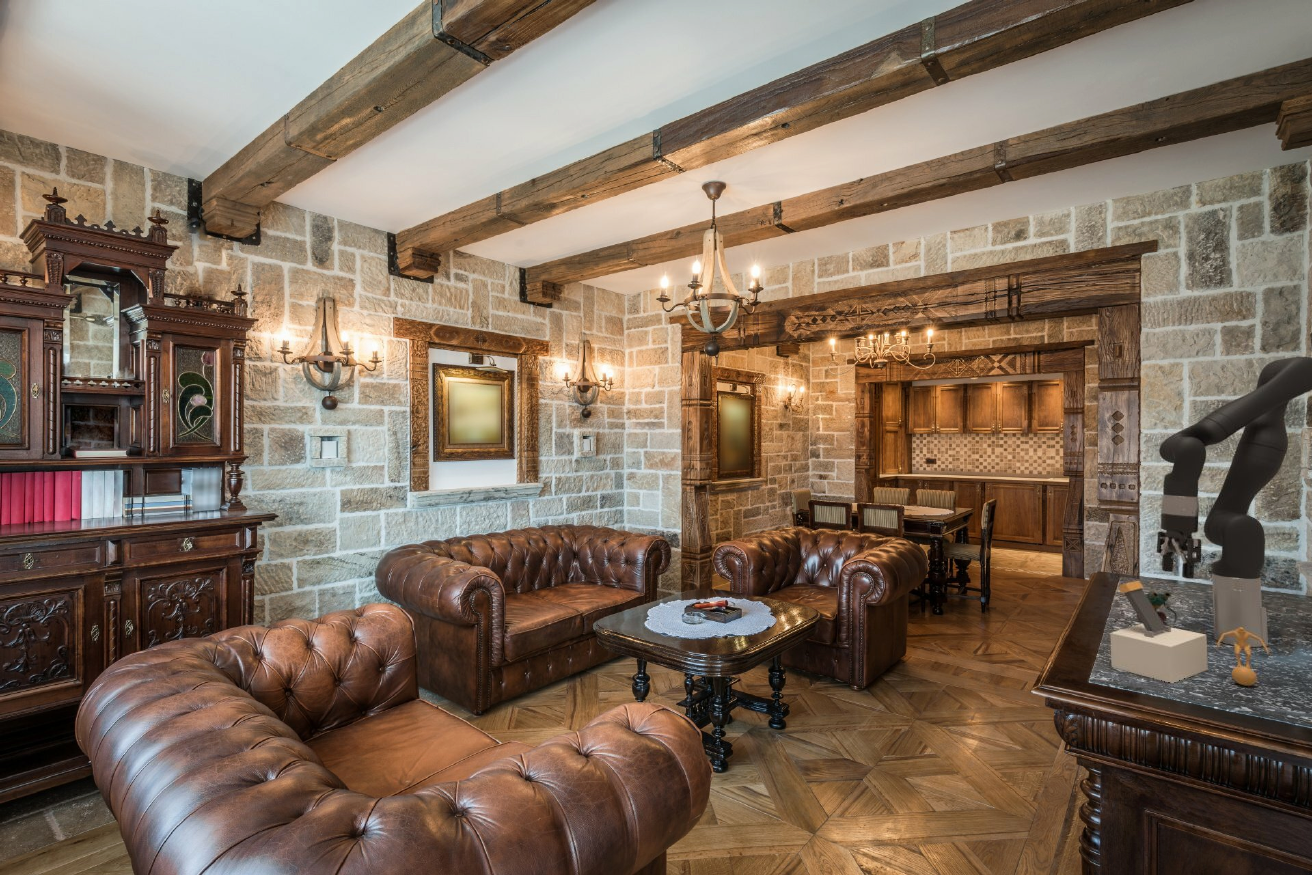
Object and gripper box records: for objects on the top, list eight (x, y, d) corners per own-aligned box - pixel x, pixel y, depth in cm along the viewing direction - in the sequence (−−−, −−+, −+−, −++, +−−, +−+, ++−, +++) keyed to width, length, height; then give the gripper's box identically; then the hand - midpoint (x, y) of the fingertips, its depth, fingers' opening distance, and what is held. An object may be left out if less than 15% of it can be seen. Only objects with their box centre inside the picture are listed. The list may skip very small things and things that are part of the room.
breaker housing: (1111, 666, 147) (1110, 627, 148) (1147, 654, 155) (1145, 617, 155) (1172, 683, 137) (1170, 641, 137) (1207, 669, 144) (1206, 629, 144)
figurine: (1219, 683, 136) (1217, 628, 136) (1217, 675, 141) (1215, 621, 141) (1272, 692, 131) (1270, 634, 131) (1268, 683, 136) (1266, 627, 136)
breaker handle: (1147, 635, 145) (1117, 586, 150) (1161, 631, 148) (1130, 583, 153) (1156, 633, 144) (1125, 583, 149) (1169, 629, 146) (1138, 580, 152)
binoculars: (1172, 631, 179) (1158, 597, 184) (1192, 621, 171) (1176, 586, 177) (1137, 631, 180) (1124, 597, 185) (1155, 621, 172) (1141, 586, 177)
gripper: (1214, 517, 157) (1212, 581, 157) (1178, 510, 171) (1176, 570, 171) (1180, 515, 158) (1178, 579, 158) (1147, 509, 172) (1145, 568, 172)
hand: (1177, 574), depth 164 cm, fingers open, 8 cm apart
